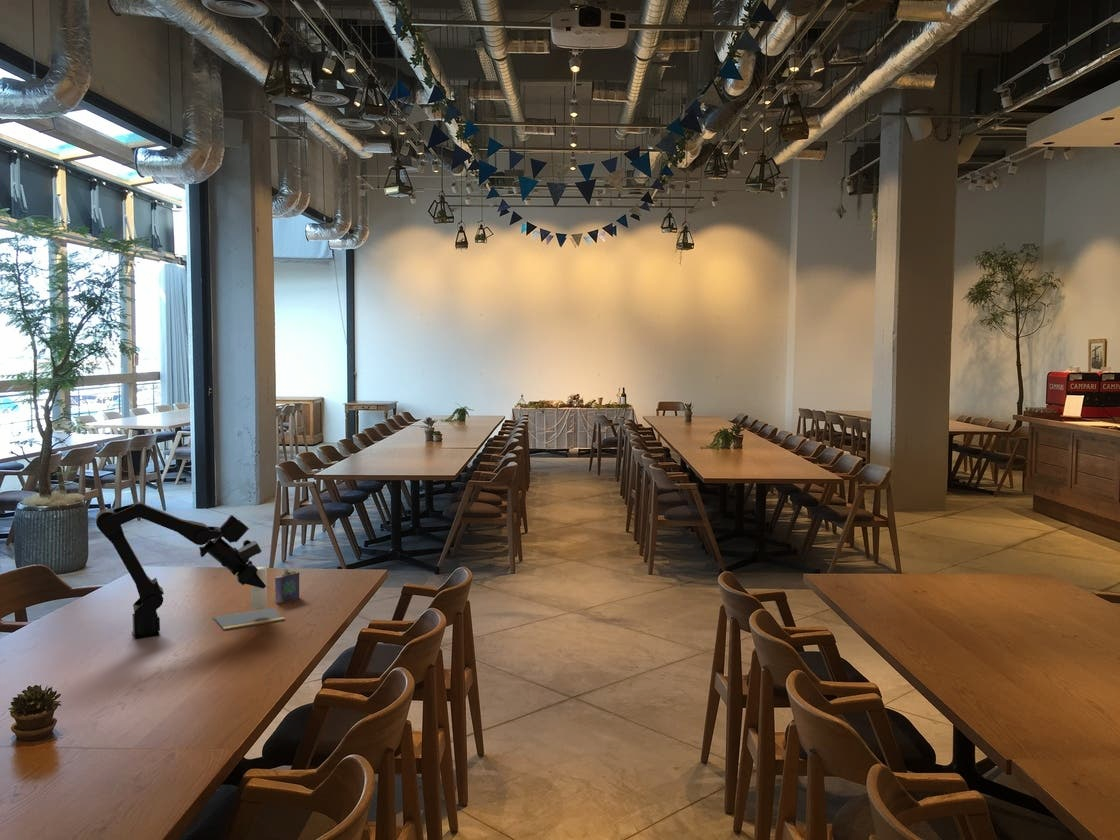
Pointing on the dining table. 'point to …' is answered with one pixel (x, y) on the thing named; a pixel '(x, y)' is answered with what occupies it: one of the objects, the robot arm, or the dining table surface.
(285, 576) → the flask
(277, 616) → the mat
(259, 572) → the skittle
